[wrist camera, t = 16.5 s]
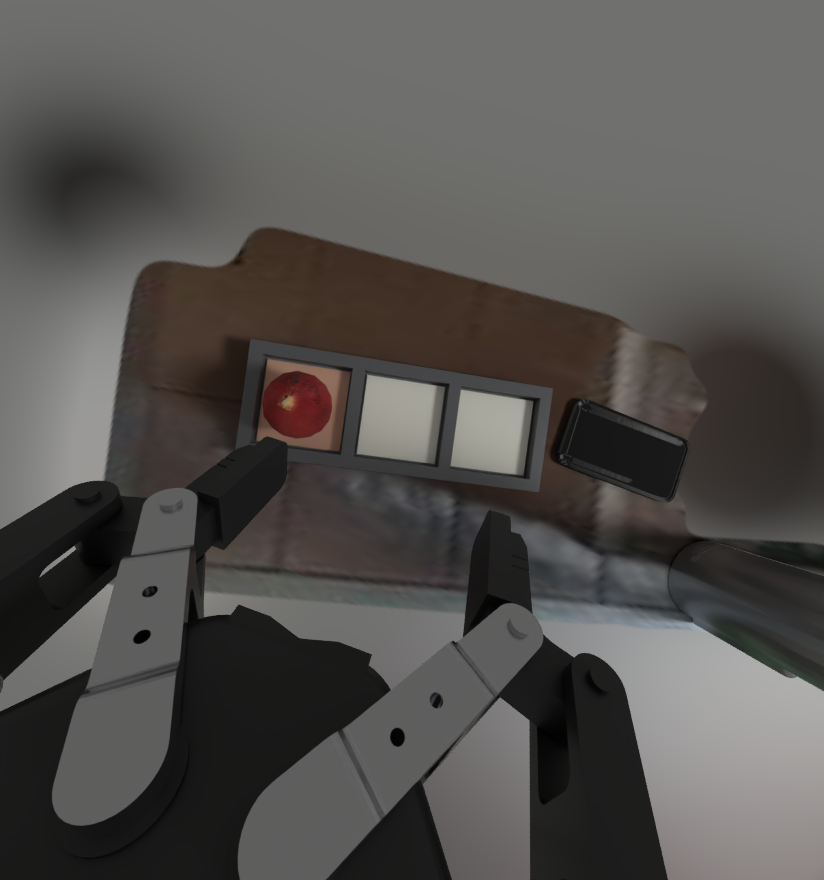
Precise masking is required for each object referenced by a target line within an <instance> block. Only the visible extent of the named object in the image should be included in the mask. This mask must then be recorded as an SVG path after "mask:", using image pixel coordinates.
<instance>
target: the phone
mask: <svg viewBox="0 0 824 880" xmlns="http://www.w3.org/2000/svg"><path fill="white" fill-rule="evenodd" d="M689 452H690V444H689V442H688V441H687V440H686V439H684V438H681V437H679V436H676V435H674V434H671V433H669V432H666V431H664V430H661V429H659V428H657V427H654V426H652V425H649V424H647V423H644V422H642V421H639V420H637V419H634V418H632V417H629V416H627V415H625V414H622V413H620V412H617V411H615V410H612V409H610V408H607V407H605V406H602V405H600V404H597V403H595V402H593V401H590V400H579V401H577V402H576V403H575V404H574V405H573V407H572V410H571V413H570V416H569V419H568V422H567V424H566V427H565V430H564V433H563V436H562V439H561V442H560V445H559V447H558V450H557V454H556V456H557V460H558V462H559V463H560V464H562V465H564V466H566V467H569V468H570V469H573V470H577V471H579V472H580V473H583V474H586V475H587V474H588V476H590V477H593V478H598V479H601V480H603V481H606V482H609V483H611V484H614V485H617V486H619V487H622V488H625V489H627V490H630V491H633V492H635V493H638V494H641V495H643V496H646V497H649V498H651V499H654V500H657V501H660V502H665V503H667V502H670V501H672V500H673V499H674V497H675V494H676V491H677V488H678V485H679V482H680V479H681V476H682V473H683V470H684V467H685V464H686V461H687V458H688V455H689Z"/></svg>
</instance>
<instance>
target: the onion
mask: <svg viewBox="0 0 824 880" xmlns="http://www.w3.org/2000/svg"><path fill="white" fill-rule="evenodd" d="M262 406H263V415H264V417H265V419H266V420H267V422H268V423H269V425H270V426H271V427H272V428H273V429H274V430H276V431H277V432H279V433H280V434H282V435H283V436H287V437H291V438H295V439H298V438H306V437H311V436H313V435H314V434H316V433H318V432H320V431H322V429H323V428H324V427H325V425H326V424H327V423H328V422H329V420H330V416H331V412H332V397H331V395H330V393H329V391H328V389H327V387H326V385H325V384H324V383H323V382H322V381H320V380H319V379H318V378H317V377H316V376H315V375H311V374H307V373H304V372H300V371H293V372H287V373H283V374H282V375H280V376H279V377H277V378H276V379H274V380H273V381H271V383H270V384H269V385H268V387H267V388H266V390H265V391H264V396H263V401H262Z"/></svg>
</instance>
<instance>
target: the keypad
mask: <svg viewBox="0 0 824 880" xmlns="http://www.w3.org/2000/svg"><path fill="white" fill-rule="evenodd" d="M268 359H271V360H277V361H284V362H290V363H296V364H302V365H309V366H315V367H321V368H328V369H334V370H340V371H347V372H351V375H350V382H349V389H348V397H347V404H346V411H345V418H344V425H343V433H342V440H341V447H340V452H339V451H331V450H324V449H316V448H308V447H301V446H293V445H288V456H287V461H294V462H302V463H310V464H317V465H325V466H333V467H341V468H349V469H357V470H365V471H373V472H381V473H389V474H397V475H405V476H413V477H421V478H429V479H437V480H445V481H453V482H461V483H469V484H477V485H485V486H493V487H501V488H509V489H517V490H525V491H533V492H539V488H540V480H541V473H542V465H543V458H544V451H545V443H546V436H547V428H548V421H549V414H550V406H551V399H552V392H553V389H552V388H546V387H540V386H534V385H528V384H522V383H516V382H510V381H504V380H498V379H492V378H486V377H480V376H474V375H468V374H462V373H455V372H449V371H443V370H437V369H431V368H425V367H419V366H413V365H407V364H401V363H395V362H389V361H383V360H377V359H371V358H364V357H358V356H352V355H346V354H340V353H334V352H328V351H322V350H316V349H310V348H304V347H298V346H292V345H286V344H280V343H274V342H267V341H261V340H255V339H251V340H250V347H249V354H248V361H247V368H246V375H245V383H244V390H243V397H242V404H241V411H240V418H239V425H238V432H237V439H236V447H235V450H236V449H238V448H241V447H244V446H246V445H249V444H250V445H253V446H254V445H256V444H257V443H258V442H259V441H256V439H257V432H258V424H259V417H260V410H261V403H262V396H263V389H264V382H265V374H266V367H267V360H268Z"/></svg>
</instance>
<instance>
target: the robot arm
mask: <svg viewBox="0 0 824 880" xmlns="http://www.w3.org/2000/svg"><path fill="white" fill-rule="evenodd" d="M287 456H288V445H287V443H286V442H284V441H281V440H278V439H275V438H272V437H268V436H267V437H264V438H263V439H262V440H261V441H259V442H258V443H257V444H256V445H254V446H253V445H250V444H249V445H246V446H244V447H241V448H238V449H236V450H234V451H233V452H232V453H230V454H229V455H228V456H226V458H225V459H222V460H221V461H220V462H219V463H217V465H215V466H213V467H212V468H211V469H209V470H208V471H207V472H205V473H204V474H203V475H201V476H200V477H199V478H197V479H196V480H195V481H193V482H192V483H191V484H190V485H188V486H187V487H186V488H184V489H183V488H171V489H166V490H162V491H160V492H157V493H155V494H153V495H152V496H150V497H149V498H138V497H125V496H120V493H119V489H118V487H117V486H116V485H115V484H113V483H111V482H107V481H90V482H85V483H81V484H78V485H75V486H73V487H71V488H68V489H67V490H65V491H63V492H62V493H60V494H58V495H57V496H55V497H53V498H52V499H50V500H48V501H47V502H45V503H43V504H42V505H40V506H38V507H37V508H35V509H34V510H32V511H30V512H28V513H27V514H25V515H24V516H22V517H21V518H19V519H17V520H15V521H14V522H12V523H10V524H9V525H7V526H5V527H4V528H2V529H0V693H1V690H2V687H3V680H4V679H5V678H6V677H7V676H9V675H10V674H11V673H12V672H13V671H14V670H15V669H16V668H17V667H18V666H19V665H20V664H22V663H23V662H24V661H25V660H26V659H27V658H28V657H29V656H30V655H31V654H32V653H33V652H35V650H37V649H38V648H39V647H40V646H41V645H42V644H43V643H44V642H45V641H46V640H48V639H49V638H50V637H51V636H52V635H53V634H54V633H55V632H56V631H57V630H58V629H59V628H60V627H62V626H63V625H64V624H65V623H66V622H67V621H68V620H69V619H70V618H71V617H72V616H74V614H76V613H77V612H78V611H79V610H80V609H81V608H82V607H83V606H84V605H85V604H87V603H88V602H89V601H90V600H91V599H92V598H93V597H94V596H95V595H96V594H97V593H98V592H99V591H101V590H102V589H103V588H104V587H105V586H106V585H107V584H108V583H109V582H110V581H111V580H112V579H114V578H115V577H116V576H117V577H116V580H115V584H114V588H113V592H112V596H111V599H110V603H109V607H108V610H107V614H106V618H105V622H104V626H103V629H102V633H101V637H100V641H99V644H98V648H97V652H96V656H95V659H94V663H93V667H92V669H89V670H87V671H85V672H83V673H81V674H78V675H76V676H74V677H72V678H70V679H68V680H66V681H64V682H62V683H60V684H57V685H55V686H53V687H51V688H49V689H47V690H45V691H43V692H41V693H39V694H36V695H34V696H32V697H30V698H28V699H26V700H24V701H22V702H20V703H18V704H15V705H13V706H11V707H9V708H7V709H5V710H3V711H0V880H452V878H451V875H450V872H449V869H448V865H447V862H446V859H445V856H444V852H443V849H442V846H441V842H440V839H439V836H438V833H437V830H436V826H435V823H434V820H433V816H432V813H431V810H430V807H429V803H428V800H427V797H426V794H425V790H424V787H423V784H424V783H425V782H426V781H427V779H428V778H429V777H430V776H431V775H432V774H433V773H434V772H435V771H436V769H437V768H438V767H439V766H440V765H441V763H443V762H444V760H445V759H446V758H447V757H448V756H449V754H450V753H451V752H452V751H453V750H454V749H455V747H456V746H457V745H458V744H459V743H460V742H461V741H462V739H463V738H464V737H465V736H466V735H467V734H468V732H469V731H470V730H471V729H472V728H473V727H474V726H475V725H476V724H477V723H478V721H479V720H480V719H481V718H482V717H483V716H484V715H485V714H486V712H487V711H488V710H489V709H490V708H491V707H492V706H493V705H494V703H495V702H496V701H497V700H498V699H499V698H500V697H501V698H502V699H503V700H504V701H506V702H507V703H508V704H510V705H511V706H512V707H513V708H515V709H516V710H517V711H518V712H520V713H521V714H522V715H524V716H525V717H526V718H527V719H529V720H530V880H668V879H667V874H666V870H665V865H664V861H663V856H662V852H661V847H660V843H659V838H658V834H657V830H656V825H655V820H654V816H653V812H652V807H651V803H650V798H649V794H648V790H647V785H646V780H645V776H644V772H643V767H642V763H641V758H640V754H639V749H638V745H637V740H636V736H635V732H634V727H633V722H632V718H631V713H630V709H629V705H628V700H627V696H626V692H625V688H624V686H623V684H622V682H621V680H620V678H619V677H618V675H617V674H616V672H615V671H614V670H613V669H612V668H611V667H610V666H609V665H608V664H607V663H606V662H605V661H603V660H602V659H600V658H598V657H597V656H595V655H592V654H588V653H581V654H578V655H577V656H576V657H575V658H574V657H572V656H571V655H569V654H568V653H567V652H565V651H563V650H562V649H561V648H559V647H558V646H556V645H555V644H554V643H552V642H551V641H550V640H549V639H548V638H546V637H545V636H544V634H543V632H542V628H541V626H540V624H539V622H538V620H537V619H536V618H535V616H534V615H533V614H532V604H531V592H530V579H529V573H528V571H529V566H528V554H527V547H526V545H525V543H524V541H523V539H522V537H521V535H520V534H517V533H514V532H511V521H510V516H507V515H504V514H501V513H498V512H495V511H492V510H489V511H488V513H487V515H486V517H485V520H484V522H483V524H482V526H481V528H480V530H479V532H478V535H477V537H476V539H475V542H474V545H473V549H472V555H471V564H470V574H469V584H468V593H467V603H466V613H465V623H464V632H463V638H462V639H461V640H459V641H458V642H456V643H455V642H454V641H452V642H450V643H448V644H447V645H445V646H444V647H443V648H442V649H440V650H439V651H438V652H437V653H436V654H435V655H433V656H432V657H431V658H430V659H428V660H427V661H426V662H425V663H423V664H422V665H421V666H420V667H419V668H417V669H416V670H415V671H414V672H413V673H411V674H410V675H409V676H408V677H406V678H405V679H404V680H403V681H402V682H400V683H399V684H398V685H397V686H396V687H394V688H393V689H392V690H390V688H389V686H388V685H387V683H386V682H385V681H384V679H383V678H382V677H381V676H380V675H379V674H378V673H377V672H376V671H375V670H374V669H373V668H371V667H370V666H369V662H370V659H371V656H372V655H371V654H369V653H366V652H364V651H361V650H358V649H356V648H353V647H350V646H347V645H345V644H342V643H339V642H333V641H321V640H308V639H300V638H298V637H297V636H295V635H294V634H293V633H291V632H290V631H289V630H287V629H286V628H285V627H283V626H282V625H281V624H280V623H278V622H277V621H275V620H274V619H273V618H271V617H270V616H268V615H265V614H262V613H260V612H257V611H254V610H252V609H249V608H246V607H243V606H241V605H238V606H237V608H236V609H235V610H234V612H233V613H232V614H231V615H216V616H209V617H204V583H205V562H206V555H205V552H206V551H207V550H208V549H209V548H210V547H211V546H214V547H217V548H220V549H223V550H224V549H225V548H226V547H227V546H228V545H229V544H230V543H231V542H232V541H233V540H234V539H235V538H236V536H237V535H238V534H239V533H240V532H241V531H242V530H243V529H244V528H245V527H246V526H247V525H248V523H249V522H250V521H251V520H252V519H253V518H254V517H255V516H256V515H257V514H258V513H259V511H260V510H261V509H262V508H263V507H264V506H265V505H266V504H267V503H268V502H269V501H270V500H271V498H272V497H273V496H274V495H275V494H276V493H277V492H278V491H279V490H280V489H281V487H282V486H283V484H284V482H285V479H286V476H287ZM73 546H75V547H76V550H75V551H74V552H72V553H71V554H70V555H69V556H67V557H66V558H65V559H63V560H62V561H61V562H59V563H58V564H57V565H56V566H54V567H53V568H52V569H50V570H49V571H48V572H46V573H45V574H44V575H42V576H41V577H40V575H41V573H42V571H43V570H44V569H45V568H46V567H47V566H48V565H49V564H51V563H52V562H53V561H54V560H56V559H57V558H59V557H60V556H61V555H62V554H63V553H65V552H66V551H68V550H69V549H70V548H72V547H73ZM39 577H40V578H39ZM669 590H670V594H671V596H672V599H673V601H674V602H675V604H676V605H677V607H678V608H679V609H680V610H681V611H683V612H684V613H686V614H688V615H689V616H691V618H692V620H693V623H694V624H695V625H697V626H699V627H701V628H702V629H704V630H706V631H708V632H709V633H711V634H713V635H714V636H716V637H718V638H720V639H721V640H723V641H725V642H727V643H728V644H730V645H732V646H733V647H735V648H737V649H739V650H741V651H742V652H744V653H746V654H747V655H749V656H751V657H752V658H754V659H756V660H758V661H759V662H761V663H763V664H765V665H766V666H768V667H770V668H771V669H773V670H775V671H777V672H778V673H780V674H782V675H784V676H786V677H789V678H794V677H797V676H798V677H799V678H801V679H803V680H805V681H807V682H808V683H810V684H812V685H814V686H815V687H817V688H819V689H821V690H822V691H824V576H823V575H819V574H816V573H813V572H810V571H806V570H803V569H800V568H797V567H793V566H790V565H787V564H784V563H780V562H777V561H774V560H771V559H767V558H764V557H761V556H758V555H754V554H751V553H748V552H745V551H742V550H738V549H735V548H732V547H729V546H725V545H722V544H719V543H716V542H712V541H698V542H695V543H692V544H690V545H688V546H687V547H685V548H684V549H683V550H682V551H681V552H680V553H679V554H678V555H677V557H676V558H675V560H674V561H673V564H672V566H671V569H670V573H669Z"/></svg>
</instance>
